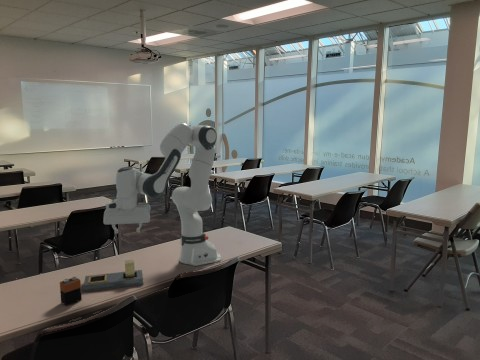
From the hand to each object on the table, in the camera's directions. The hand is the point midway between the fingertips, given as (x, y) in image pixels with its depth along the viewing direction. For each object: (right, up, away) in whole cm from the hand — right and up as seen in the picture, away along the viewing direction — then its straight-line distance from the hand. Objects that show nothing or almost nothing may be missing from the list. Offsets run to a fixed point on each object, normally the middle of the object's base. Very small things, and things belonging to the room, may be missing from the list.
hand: (127, 232), depth 169 cm
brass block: (+1, -22, +3) cm, 23 cm away
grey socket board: (-6, -23, +1) cm, 24 cm away
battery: (-18, -26, -16) cm, 36 cm away
